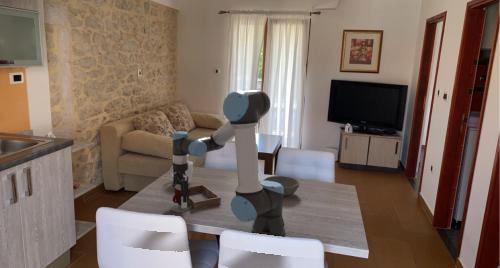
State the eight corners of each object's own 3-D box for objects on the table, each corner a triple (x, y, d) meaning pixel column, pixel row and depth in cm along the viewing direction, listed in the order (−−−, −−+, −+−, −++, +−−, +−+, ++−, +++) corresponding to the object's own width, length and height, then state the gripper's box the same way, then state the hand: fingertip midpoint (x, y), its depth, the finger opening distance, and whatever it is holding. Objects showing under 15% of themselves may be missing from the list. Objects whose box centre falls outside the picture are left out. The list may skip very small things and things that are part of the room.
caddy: (220, 204, 192) (220, 197, 191) (194, 209, 183) (194, 202, 183) (203, 190, 209) (203, 184, 208) (178, 195, 201) (178, 188, 200)
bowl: (279, 204, 195) (280, 190, 193) (254, 192, 210) (255, 179, 208) (305, 196, 208) (306, 183, 206) (280, 185, 223) (281, 173, 222)
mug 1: (165, 183, 219) (165, 162, 216) (175, 178, 229) (175, 158, 226) (187, 187, 214) (187, 166, 211) (195, 181, 224) (196, 161, 221)
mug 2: (181, 211, 179) (181, 194, 175) (167, 207, 182) (168, 189, 178) (192, 203, 188) (193, 185, 185) (180, 198, 191) (180, 181, 188)
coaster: (193, 209, 183) (193, 208, 183) (174, 213, 178) (174, 212, 178) (185, 202, 192) (185, 201, 191) (167, 206, 186) (167, 205, 186)
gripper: (196, 166, 173) (195, 210, 178) (179, 156, 190) (179, 196, 195) (181, 169, 169) (181, 213, 174) (165, 157, 186) (166, 198, 191)
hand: (180, 204), depth 184 cm, fingers open, 8 cm apart
